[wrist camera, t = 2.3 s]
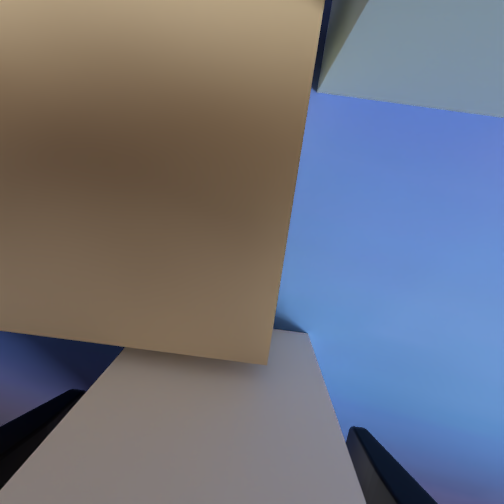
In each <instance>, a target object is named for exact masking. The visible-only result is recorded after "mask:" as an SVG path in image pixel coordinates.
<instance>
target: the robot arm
mask: <svg viewBox="0 0 504 504" xmlns="http://www.w3.org/2000/svg"><path fill="white" fill-rule="evenodd" d="M85 393H86V391H84V390H78V389H71V390H69V391H67V392H65V393H63V394H61V395H59V396H57V397H55V398H53V399H52V400H50V401H48V402H46V403H44V404H42V405H40V406H38V407H36V408H35V409H33V410H31V411H29V412H27V413H25V414H23V415H21V416H20V417H18V418H16V419H14V420H12V421H10V422H8V423H6V424H5V425H3V426H1V427H0V490H1V489H2V488H3V487H4V485H5V484H6V483H7V482H8V481H9V480H10V479H11V477H12V476H13V475H14V474H15V473H16V472H17V471H18V469H19V468H20V467H21V466H22V465H23V464H24V463H25V461H26V460H27V459H28V458H29V457H30V456H31V455H32V453H33V452H34V451H35V450H36V449H37V448H38V447H39V445H40V444H41V443H42V442H43V441H44V440H45V439H46V437H47V436H48V435H49V434H50V433H51V432H52V431H53V429H54V428H55V427H56V426H57V425H58V424H59V423H60V421H61V420H62V419H63V418H64V417H65V416H66V415H67V413H68V412H69V411H70V410H71V409H72V408H73V407H74V405H75V404H76V403H77V402H78V401H79V400H80V399H81V397H82V396H83V395H84V394H85ZM346 446H347V449H348V452H349V455H350V458H351V460H352V463H353V466H354V469H355V472H356V475H357V478H358V481H359V484H360V486H361V489H362V492H363V495H364V498H365V501H366V504H438V503H437V502H436V501H435V500H434V499H433V498H432V497H431V496H430V495H429V494H428V493H427V492H426V491H425V490H424V489H423V488H422V487H421V486H420V485H419V484H418V483H417V482H416V480H415V479H414V478H413V477H412V476H411V475H410V474H409V473H408V472H407V471H406V470H405V469H404V468H403V467H402V466H401V465H400V464H399V463H398V462H397V461H396V460H395V459H394V458H393V456H392V455H391V454H390V453H389V452H388V451H387V450H386V449H385V448H384V447H383V446H382V445H381V444H380V443H379V442H378V441H377V440H376V439H375V438H374V437H373V436H372V435H371V434H370V433H369V431H368V430H366V429H365V428H362V427H355V426H352V427H351V428H350V429H349V433H348V437H347V440H346Z"/></svg>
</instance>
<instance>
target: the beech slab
mask: <svg viewBox="0 0 504 504" xmlns="http://www.w3.org/2000/svg"><path fill="white" fill-rule="evenodd" d="M324 3H325V0H0V331H7V332H15V333H22V334H30V335H38V336H45V337H53V338H61V339H68V340H76V341H84V342H91V343H99V344H107V345H114V346H122V347H130V348H137V349H145V350H153V351H160V352H168V353H175V354H183V355H191V356H198V357H206V358H214V359H221V360H229V361H237V362H244V363H252V364H260V365H267V363H268V356H269V350H270V344H271V337H272V331H273V325H274V318H275V312H276V306H277V300H278V293H279V287H280V281H281V274H282V268H283V262H284V255H285V249H286V243H287V236H288V230H289V224H290V217H291V211H292V205H293V199H294V192H295V186H296V180H297V173H298V167H299V161H300V154H301V148H302V142H303V135H304V129H305V123H306V117H307V110H308V104H309V98H310V91H311V85H312V79H313V72H314V66H315V60H316V53H317V47H318V41H319V34H320V28H321V22H322V16H323V9H324Z"/></svg>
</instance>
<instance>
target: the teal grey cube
mask: <svg viewBox="0 0 504 504" xmlns="http://www.w3.org/2000/svg"><path fill="white" fill-rule="evenodd" d="M317 92H318V93H326V94H333V95H340V96H347V97H355V98H362V99H369V100H377V101H384V102H391V103H399V104H406V105H413V106H421V107H428V108H435V109H443V110H450V111H457V112H465V113H472V114H479V115H487V116H494V117H501V118H503V117H504V0H332V5H331V11H330V17H329V23H328V29H327V35H326V41H325V47H324V53H323V59H322V65H321V71H320V77H319V82H318V88H317Z"/></svg>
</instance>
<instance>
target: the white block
mask: <svg viewBox="0 0 504 504" xmlns="http://www.w3.org/2000/svg"><path fill="white" fill-rule="evenodd" d="M0 504H366V501H365V498H364V495H363V492H362V489H361V486H360V484H359V481H358V478H357V475H356V472H355V469H354V466H353V463H352V460H351V458H350V455H349V452H348V449H347V446H346V443H345V440H344V437H343V434H342V431H341V429H340V426H339V423H338V420H337V417H336V414H335V411H334V408H333V405H332V402H331V400H330V397H329V394H328V391H327V388H326V385H325V382H324V379H323V376H322V374H321V371H320V368H319V365H318V362H317V359H316V356H315V353H314V350H313V347H312V345H311V342H310V339H309V336H308V333H301V332H294V331H286V330H279V329H273V331H272V337H271V344H270V350H269V356H268V363H267V365H260V364H252V363H244V362H237V361H229V360H221V359H214V358H206V357H198V356H191V355H183V354H175V353H168V352H160V351H153V350H145V349H137V348H130V347H125V348H124V349H123V351H122V352H121V353H120V354H119V355H118V356H117V357H116V359H115V360H114V361H113V362H112V363H111V364H110V365H109V367H108V368H107V369H106V370H105V371H104V372H103V373H102V375H101V376H100V377H99V378H98V379H97V380H96V381H95V383H94V384H93V385H92V386H91V387H90V388H89V389H88V391H87V392H86V393H85V394H84V395H83V396H82V397H81V399H80V400H79V401H78V402H77V403H76V404H75V405H74V407H73V408H72V409H71V410H70V411H69V412H68V413H67V415H66V416H65V417H64V418H63V419H62V420H61V421H60V423H59V424H58V425H57V426H56V427H55V428H54V429H53V431H52V432H51V433H50V434H49V435H48V436H47V437H46V439H45V440H44V441H43V442H42V443H41V444H40V445H39V447H38V448H37V449H36V450H35V451H34V452H33V453H32V455H31V456H30V457H29V458H28V459H27V460H26V461H25V463H24V464H23V465H22V466H21V467H20V468H19V469H18V471H17V472H16V473H15V474H14V475H13V476H12V477H11V479H10V480H9V481H8V482H7V483H6V484H5V485H4V487H3V488H2V489H1V490H0Z"/></svg>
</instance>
